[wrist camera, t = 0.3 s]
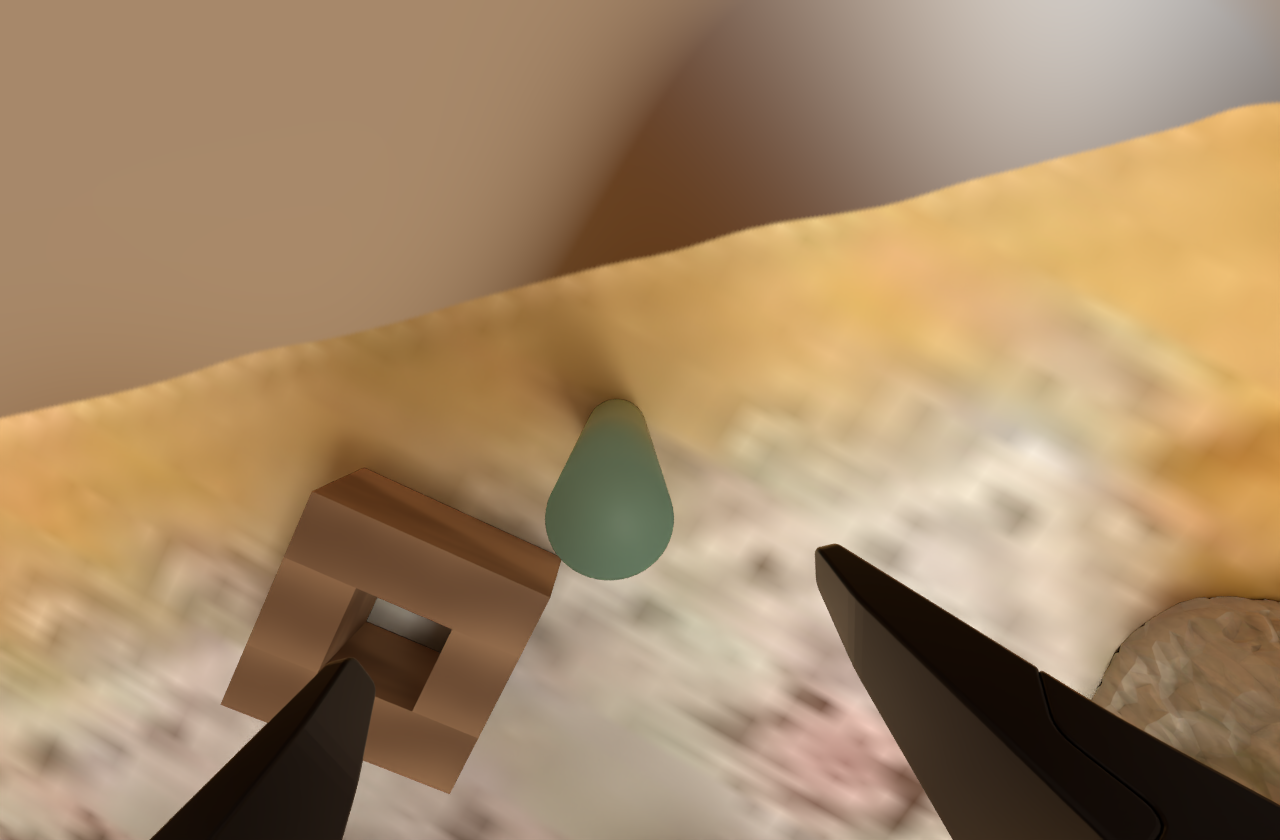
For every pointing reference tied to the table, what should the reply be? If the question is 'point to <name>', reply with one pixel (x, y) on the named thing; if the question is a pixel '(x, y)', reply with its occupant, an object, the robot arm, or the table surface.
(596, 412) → the peg
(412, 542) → the hole block
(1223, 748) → the ceramic cottage
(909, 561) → the table surface
